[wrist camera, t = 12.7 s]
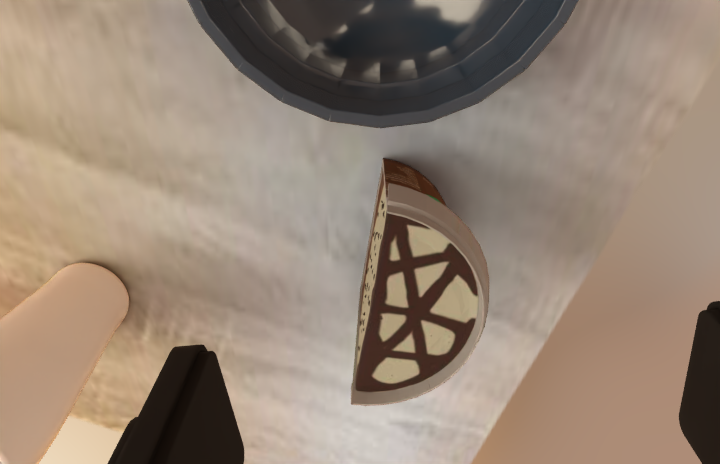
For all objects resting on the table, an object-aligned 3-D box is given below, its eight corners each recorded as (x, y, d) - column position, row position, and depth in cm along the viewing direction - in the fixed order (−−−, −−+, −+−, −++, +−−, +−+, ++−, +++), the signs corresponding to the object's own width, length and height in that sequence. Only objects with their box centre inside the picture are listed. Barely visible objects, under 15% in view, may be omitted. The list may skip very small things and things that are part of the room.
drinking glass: (29, 254, 37) (-169, 420, 24) (125, 244, 37) (-23, 409, 23) (65, 335, 40) (-93, 524, 27) (154, 327, 40) (38, 516, 26)
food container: (444, 318, 38) (463, 427, 29) (357, 306, 38) (349, 412, 29) (488, 150, 33) (528, 221, 24) (387, 134, 33) (389, 200, 24)
